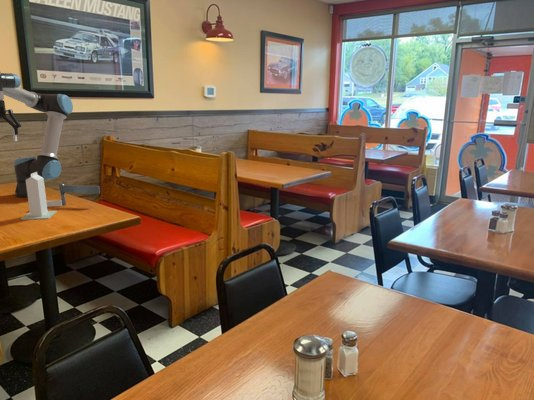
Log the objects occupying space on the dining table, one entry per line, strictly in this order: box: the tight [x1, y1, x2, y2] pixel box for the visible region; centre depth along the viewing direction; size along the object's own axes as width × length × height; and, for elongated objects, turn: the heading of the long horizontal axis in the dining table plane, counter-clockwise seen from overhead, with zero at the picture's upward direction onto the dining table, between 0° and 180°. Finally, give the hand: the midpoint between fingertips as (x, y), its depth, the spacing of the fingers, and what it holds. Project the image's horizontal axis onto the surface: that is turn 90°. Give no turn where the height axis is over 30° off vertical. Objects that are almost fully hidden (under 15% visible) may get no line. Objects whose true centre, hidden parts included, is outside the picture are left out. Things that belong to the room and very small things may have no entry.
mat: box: [20, 210, 58, 221], centre depth 213 cm, size 13×13×1 cm
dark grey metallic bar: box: [58, 183, 101, 195], centre depth 231 cm, size 23×3×5 cm, turn 85°
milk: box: [26, 172, 49, 216], centre depth 210 cm, size 6×6×22 cm
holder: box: [46, 193, 67, 207], centre depth 227 cm, size 14×14×7 cm
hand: (1, 141), depth 217 cm, fingers open, 13 cm apart
